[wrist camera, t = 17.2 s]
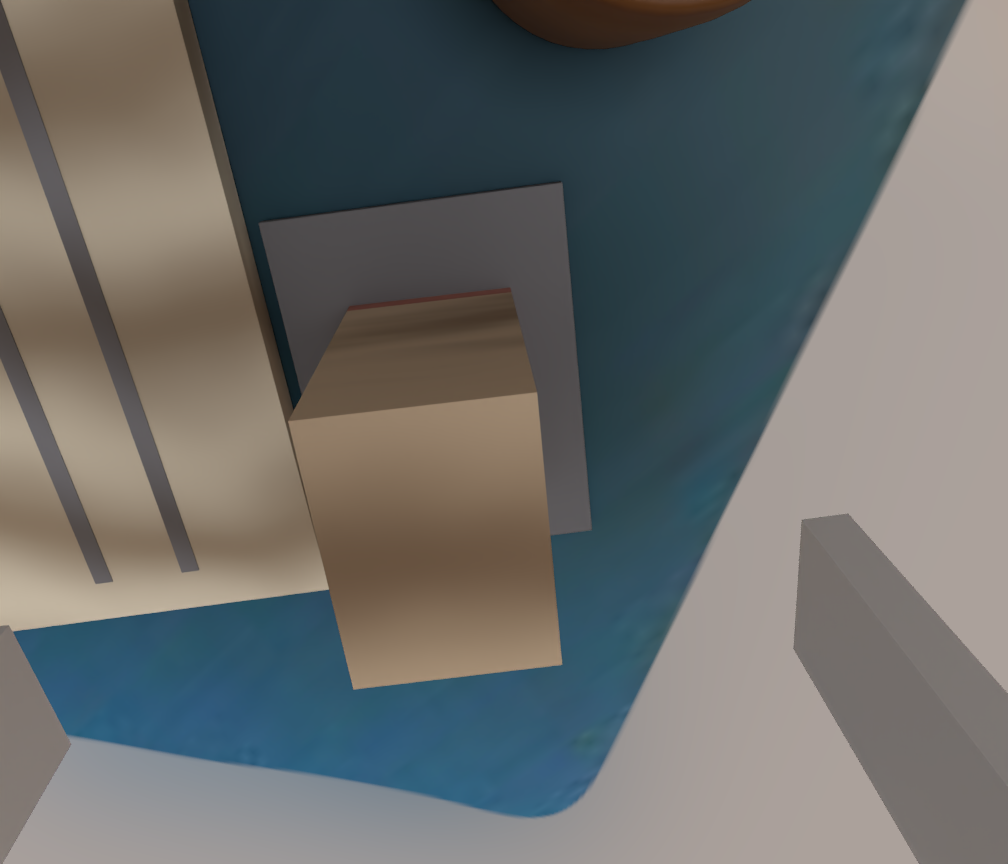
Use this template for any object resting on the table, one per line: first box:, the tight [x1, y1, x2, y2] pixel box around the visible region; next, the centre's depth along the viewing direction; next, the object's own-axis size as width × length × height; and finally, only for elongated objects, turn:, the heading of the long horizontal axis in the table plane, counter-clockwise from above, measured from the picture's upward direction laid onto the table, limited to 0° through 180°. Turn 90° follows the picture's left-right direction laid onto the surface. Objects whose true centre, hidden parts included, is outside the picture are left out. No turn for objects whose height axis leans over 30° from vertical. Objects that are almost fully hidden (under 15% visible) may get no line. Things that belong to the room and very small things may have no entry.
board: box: [0, 0, 329, 631], centre depth 22 cm, size 22×12×1 cm, turn 7°
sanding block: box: [288, 288, 562, 689], centre depth 20 cm, size 7×5×9 cm
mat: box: [259, 181, 592, 535], centre depth 25 cm, size 12×9×1 cm
